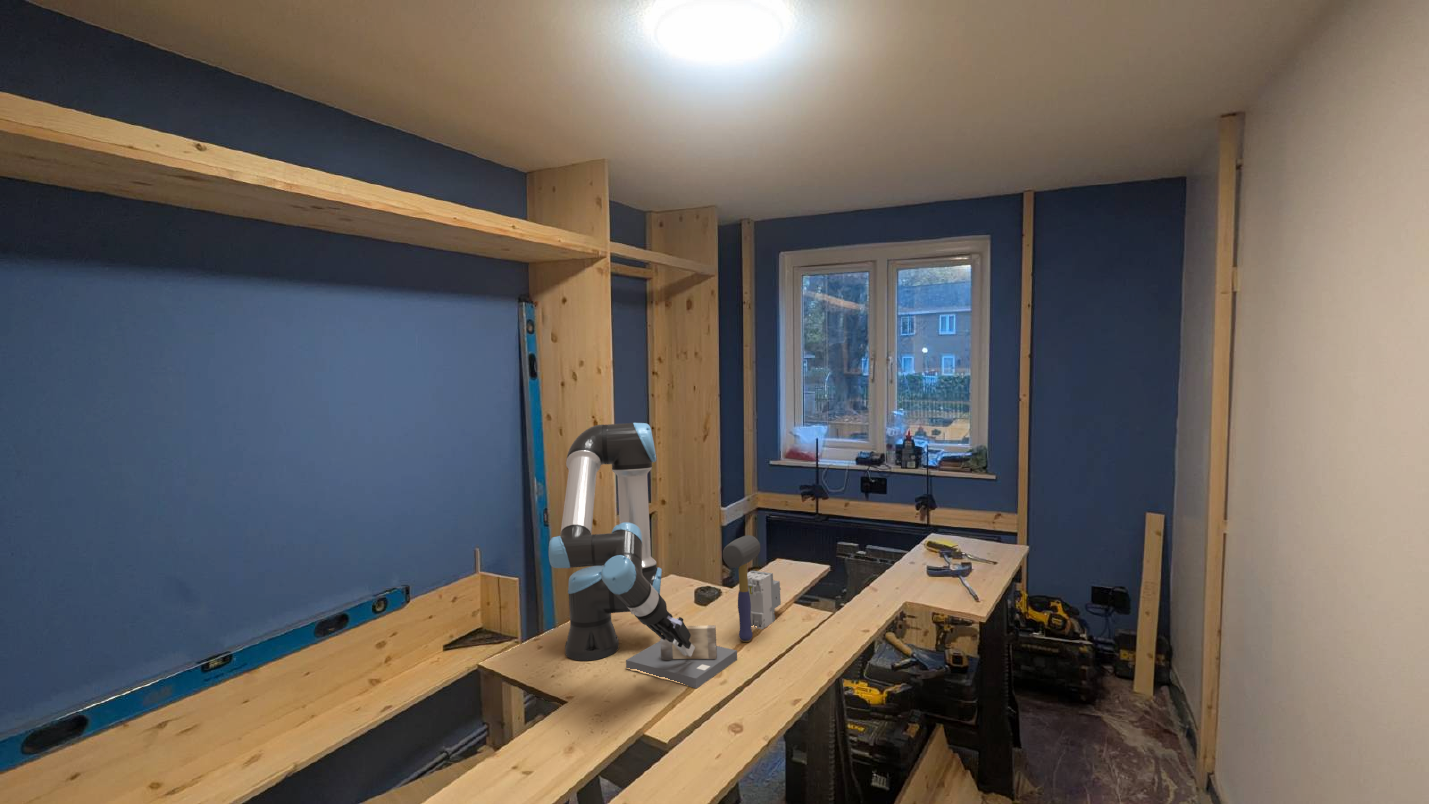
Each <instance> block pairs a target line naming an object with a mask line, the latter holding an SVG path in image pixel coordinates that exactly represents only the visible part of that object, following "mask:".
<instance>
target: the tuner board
mask: <svg viewBox="0 0 1429 804" xmlns="http://www.w3.org/2000/svg"><path fill="white" fill-rule="evenodd" d="M716 647H717V658H716V659H672V660H662V659H661V646H660V640H659V641H657V642H655V643H654V644H651V645H650V646H648V647H647V648H645V649H643V650H641V651H639V652H638V653H636V654H634V655H633V656H631V657H628V658H627V659H626V660H625V669H626V668H630V669H637V670H640V671H643V672H646V673H649V674H653V675H656V676H659V677H665V678H668V679H670V680H674V681H677V682H680V683H683V684H685V685H688V686H687V687H690V688H693V689H698V688H699V687H701V686H702V685H704V684H705V683H707V682H708V681H709V680H711V679H712V678H713V677H715V676H716V675H718V674H719V673H720V672H722V671H723V670H725V669H727V668H728V667H729V666H731V665H732V664H734V662H737V660H738V649H737V650H736V649H733V648H729V647H723V646H720V645H716ZM685 685H684V686H685Z"/></svg>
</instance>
